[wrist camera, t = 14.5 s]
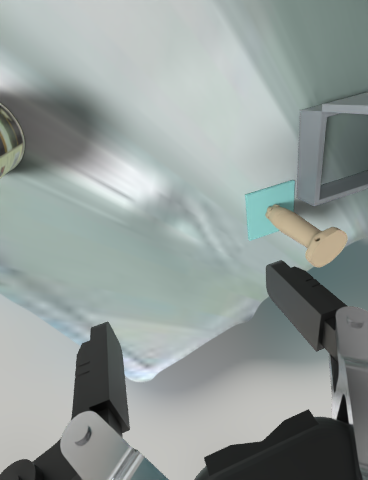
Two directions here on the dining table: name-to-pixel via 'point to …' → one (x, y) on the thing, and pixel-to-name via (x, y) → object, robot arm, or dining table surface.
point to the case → (313, 150)
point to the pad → (263, 200)
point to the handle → (308, 235)
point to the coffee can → (10, 141)
